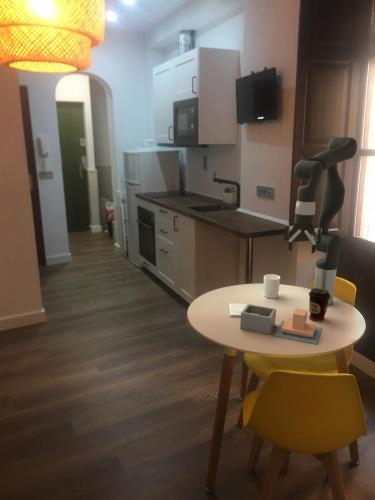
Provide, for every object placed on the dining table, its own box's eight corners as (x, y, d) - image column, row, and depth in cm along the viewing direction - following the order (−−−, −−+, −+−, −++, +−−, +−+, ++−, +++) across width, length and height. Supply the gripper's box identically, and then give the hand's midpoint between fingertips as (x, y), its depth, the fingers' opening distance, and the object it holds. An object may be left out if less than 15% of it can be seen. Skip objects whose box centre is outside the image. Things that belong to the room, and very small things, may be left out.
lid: (285, 323, 170) (287, 304, 168) (315, 329, 166) (317, 309, 164) (280, 333, 161) (282, 313, 159) (312, 339, 157) (314, 319, 155)
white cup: (260, 293, 205) (261, 274, 202) (275, 292, 205) (277, 273, 203) (265, 299, 197) (266, 279, 194) (281, 298, 198) (282, 279, 195)
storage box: (247, 319, 175) (247, 304, 173) (275, 324, 170) (276, 308, 168) (240, 328, 166) (240, 312, 164) (269, 334, 161) (270, 318, 160)
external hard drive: (247, 307, 189) (249, 318, 177) (229, 306, 190) (230, 317, 178) (247, 304, 189) (249, 315, 177) (229, 303, 189) (230, 314, 177)
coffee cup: (316, 324, 170) (319, 295, 167) (302, 317, 178) (304, 289, 174) (331, 321, 174) (334, 292, 171) (317, 313, 181) (320, 286, 178)
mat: (282, 321, 173) (282, 320, 173) (321, 328, 167) (321, 327, 167) (274, 336, 160) (274, 335, 160) (316, 344, 154) (316, 343, 154)
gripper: (324, 212, 163) (321, 251, 167) (288, 209, 169) (285, 247, 173) (322, 215, 156) (318, 256, 161) (285, 212, 162) (282, 252, 166)
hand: (301, 251), depth 167 cm, fingers open, 8 cm apart
